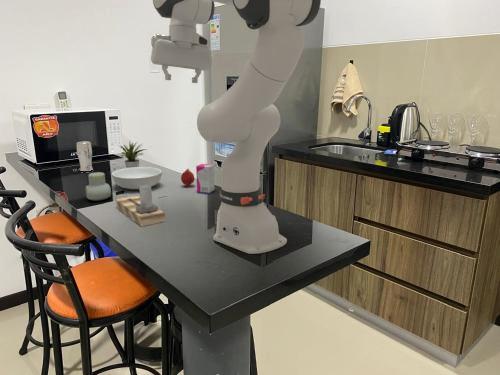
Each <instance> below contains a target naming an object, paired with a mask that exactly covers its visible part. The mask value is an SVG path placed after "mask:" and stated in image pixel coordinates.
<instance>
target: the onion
mask: <svg viewBox="0 0 500 375" xmlns="http://www.w3.org/2000/svg"><path fill="white" fill-rule="evenodd" d="M185 169H186V170H184V171H183V172H182V174H181V176H180V180H181V182H182V184H183V185H184V186H186V187H190V186H191V185H193V184H194V182H195V175H194V173H193V172H192V171H190V169H189V168H185Z"/></svg>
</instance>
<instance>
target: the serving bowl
mask: <svg viewBox="0 0 500 375" xmlns="http://www.w3.org/2000/svg"><path fill="white" fill-rule="evenodd" d="M162 174H163V173H162V170H161V169H160V168H158V167H152V166H139V167H131V168H126V167H125V168H121V169H120V168H119V169H117V170H114V171H113V172H112V173H111V176H112V180H113V182H114V183H115V185H117V186H119V187H120V188H123V189H126V190H127V189H129V190H134V191H135V190H136V191H137V190H138V191H140V189H139V186H143V185H147V186H151V187H154V186H155V185H157V184H158V183H160V181H161V178H162Z"/></svg>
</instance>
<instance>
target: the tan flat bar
mask: <svg viewBox="0 0 500 375" xmlns="http://www.w3.org/2000/svg"><path fill="white" fill-rule="evenodd" d="M115 203H116V208H117V209H118V210H120V211H121V212H122V213H124V215H126V216H127V217H129V218H130V219H131V220H133V221H134V222H135V223H137V224H138V225H139V226H140V227H146V226H150V225H151V226H152V225H155V224H159V223H164V222H166V215H165V214H166V213H165V212H164V211H163V210H161V209H159V208H158V210H154V211H149V212H144V213H139V212H138V211H137V210H136V207H139V206H141V202H140V195H139V196H138V195H135V196H128V197H122V198H117V199H115Z"/></svg>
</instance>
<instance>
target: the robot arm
mask: <svg viewBox="0 0 500 375" xmlns="http://www.w3.org/2000/svg"><path fill="white" fill-rule="evenodd" d="M215 3H219V4H223V5H228V6H234V8H235V10H236V12H237V14H238V16H239V17H241V18H242V19H243V20H244V21H245V23H246V26H247V27H248V28H249V29H250V30H258V38H257V42H256V44H255V46H254V48H253V49H252V52H251V53H250V55H249V57H248V59H247V61H246V63H245V65H244V68H243V69H242V71H241V72H240V74H239V76H238V78H237V80H236V81H235V82H234V83H233V84H232V85H231V86H230V87H229V88H228V89H227V90H226V91H225V92H224V93H223V94H222V95H221V96H219V97H218V98H217V99H215V100H214V101H212V102H210V103H207V104H206V105H204V106H202V107H201V108H200V110H199V112H198V114H197V118H196V126H197V130H198V132H199V135H200V136H201V137H202V138H203V140H205V141H206V142H211V143H219V144H227V143H228V144H229V143H235V145H234V147H233V149H232V150H231V152H230V153H229V154H227V155H226V156H225V157H224V158H223V160H222V162H221V165H220V166H221V169H220V170H221V172H220V173H221V176H220V177H221V186H220V190H219V201H220V202H221V203H220V205H219V208H218V211H217V217H216V229H215V230H216V231H215V233H214V235H212V236H213V237H212V239H213V241H215V242H217V243H218V242H219V243H221V244H223V245H226V246H227V247H230V248H233V249H236V250H238V251H241V252H243V253H246V254H249V255H250V254H251V255H253V254H254V255H255V254H262V253H268V252H271V251H274V250H277V249H279V248H282V247H283V246H285V245H286V244H287V242H288V239H287V238H286V237H285V236H284V235H282V234H280V232H279V230H280V229H279V224H278V221H277V217H276V216H275V215H274V214H272V212H270V210H269V209H268V207H267V206H266V205H265V203H264V199H265V198H266V197H265V196H266V194H263V193H262V190H261V187H260V171H261V162H262V158H263V154H264V152H265V149H266V147H267V145H268V143H269V142H270V141H271V139H272V137H274V135H276V134H277V133H278V131H279V129H280V127H281V115H280V111H279V109H278V107H277V106H276V105H275V102H276V101H277V100H278V98H279V96H280V95H281V93H282V91H283V89H284V88H285V86H286V84H287V83H288V81H289V80H290V78H291V76H292V74H294V70H295V69H296V67H297V65H298V62H299V60H300V58H301V56H302V53H303V50H304V47H305V42H306V41H305V35H304V33H303V32H302V30H301V29H300V27H302V26H306V25H309V24H310V23H312V22H313V21H314V20H315V19H316V17H317V15H318V13H319V11H320V10H321V9H320V8H321V4H322V3H321V0H152V4H153V6H154V9H155V10H156V12H157V13H158V14H159V16H160V17H161V18H165V19H170V22H169V26H168V35H164V34H160V33H155V34H154V35H152V37H151V40H150V41H151V42H150V43H151V47H152V49H151V54H150V62H151V63H152V64H153V65H157V66H158V65H159V66H161V70H162V72H163V74H164V80H165V81H171V80H172V73H171V74H170V73H169V72H168V69H169V67H173V68H181V69H188V70H194V73H195V74H194V75H195V76H193V77H192V78H191V84H198V83H199V81H198V80H199V78H200V76H201V74H202V71H203V72H207V71H210V70H211V68H212V61H213V60H212V58H213V57H212V51H211V49H210V48H209V46H211V41H210V39H209V38H207V37H204V36H203V35H201V34H199V33H198V32H197V25H206V24H207V23H209V22H211V20H212V19H213V18H214V15H215V11H216V10H215V9H216V8H215Z"/></svg>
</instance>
